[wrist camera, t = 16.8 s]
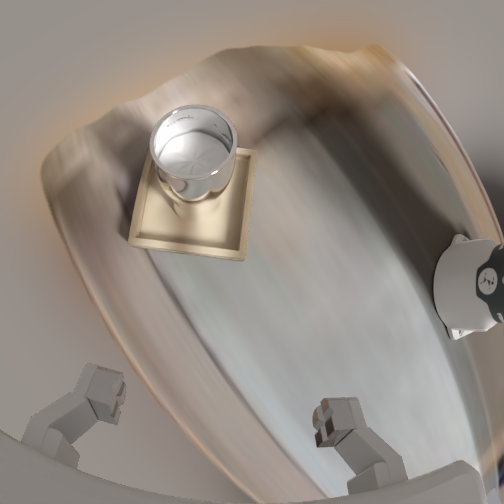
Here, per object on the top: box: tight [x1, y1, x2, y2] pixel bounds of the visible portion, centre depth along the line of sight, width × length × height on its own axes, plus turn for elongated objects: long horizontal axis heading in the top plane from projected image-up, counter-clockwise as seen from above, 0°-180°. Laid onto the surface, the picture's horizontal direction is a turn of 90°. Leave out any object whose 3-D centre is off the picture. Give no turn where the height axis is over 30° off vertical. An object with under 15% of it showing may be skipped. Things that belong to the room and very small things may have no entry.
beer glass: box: [150, 105, 238, 224], centre depth 26 cm, size 7×7×15 cm
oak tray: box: [128, 144, 258, 261], centre depth 33 cm, size 14×14×3 cm
